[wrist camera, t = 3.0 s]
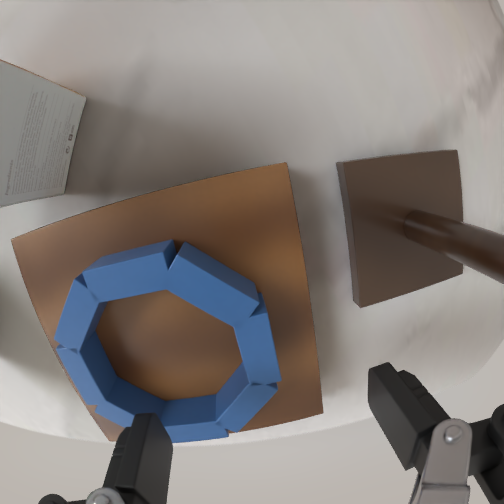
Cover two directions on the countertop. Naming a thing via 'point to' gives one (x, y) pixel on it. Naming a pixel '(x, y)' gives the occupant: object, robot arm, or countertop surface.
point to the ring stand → (410, 225)
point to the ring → (198, 294)
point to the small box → (35, 135)
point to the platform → (177, 309)
